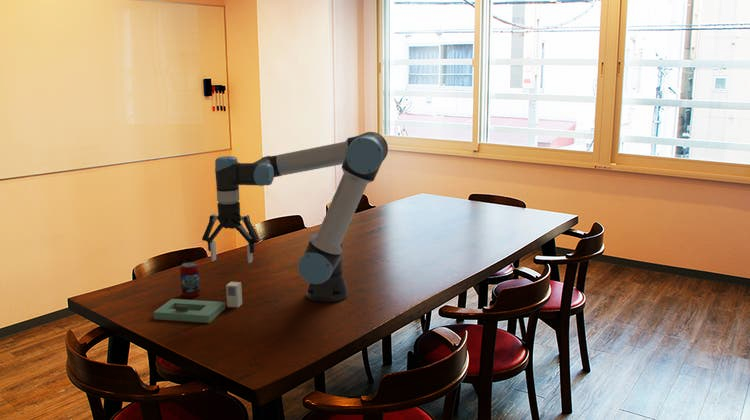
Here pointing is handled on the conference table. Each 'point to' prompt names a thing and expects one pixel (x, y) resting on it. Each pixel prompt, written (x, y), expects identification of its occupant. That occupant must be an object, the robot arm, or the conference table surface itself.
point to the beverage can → (190, 279)
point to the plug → (234, 294)
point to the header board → (189, 310)
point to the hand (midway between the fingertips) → (232, 261)
